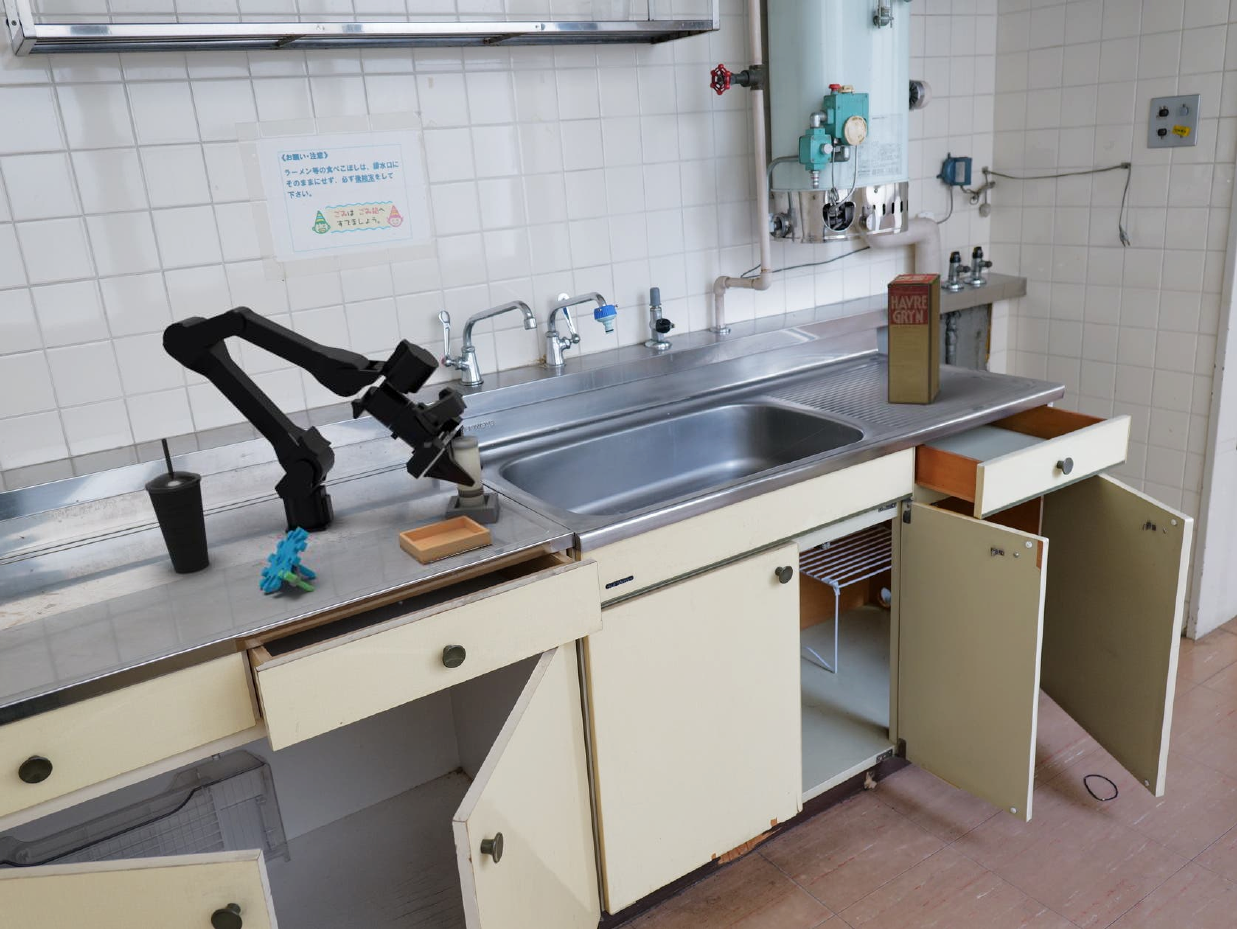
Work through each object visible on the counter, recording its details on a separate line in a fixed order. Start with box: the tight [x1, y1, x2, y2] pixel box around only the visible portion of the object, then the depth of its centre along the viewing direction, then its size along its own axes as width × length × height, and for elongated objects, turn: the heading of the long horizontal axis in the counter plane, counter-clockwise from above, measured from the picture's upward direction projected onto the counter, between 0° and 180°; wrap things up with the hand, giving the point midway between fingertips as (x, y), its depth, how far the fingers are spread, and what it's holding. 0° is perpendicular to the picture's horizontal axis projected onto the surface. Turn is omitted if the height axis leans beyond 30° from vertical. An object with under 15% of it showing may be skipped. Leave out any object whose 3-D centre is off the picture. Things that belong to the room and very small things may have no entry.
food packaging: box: [886, 273, 942, 406], centre depth 207 cm, size 13×9×25 cm
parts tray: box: [397, 515, 492, 565], centre depth 149 cm, size 11×9×2 cm
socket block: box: [445, 491, 500, 525], centre depth 160 cm, size 8×8×2 cm
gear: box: [259, 527, 316, 594], centre depth 139 cm, size 11×6×10 cm
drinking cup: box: [144, 438, 210, 574], centre depth 146 cm, size 8×8×20 cm
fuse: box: [451, 435, 486, 508], centre depth 158 cm, size 4×4×13 cm
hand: (477, 477), depth 158 cm, fingers open, 7 cm apart
